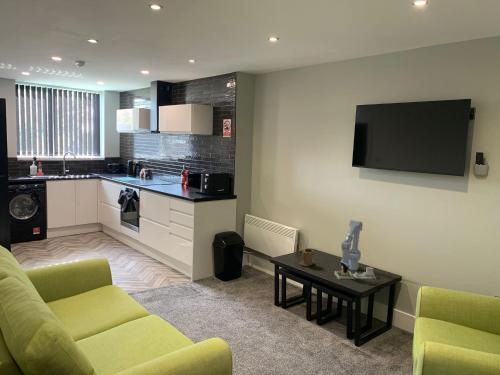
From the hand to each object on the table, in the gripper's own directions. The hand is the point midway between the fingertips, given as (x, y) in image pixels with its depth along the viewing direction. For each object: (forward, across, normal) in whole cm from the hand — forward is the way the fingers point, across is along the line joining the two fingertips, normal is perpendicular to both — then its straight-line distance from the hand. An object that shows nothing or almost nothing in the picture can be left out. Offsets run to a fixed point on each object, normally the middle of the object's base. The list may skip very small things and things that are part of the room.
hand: (344, 272), depth 317 cm
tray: (+4, 0, 0) cm, 4 cm away
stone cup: (+5, -30, -24) cm, 39 cm away
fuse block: (+4, 0, +16) cm, 17 cm away
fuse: (+3, 0, +21) cm, 21 cm away
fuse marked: (+2, 0, 0) cm, 2 cm away
